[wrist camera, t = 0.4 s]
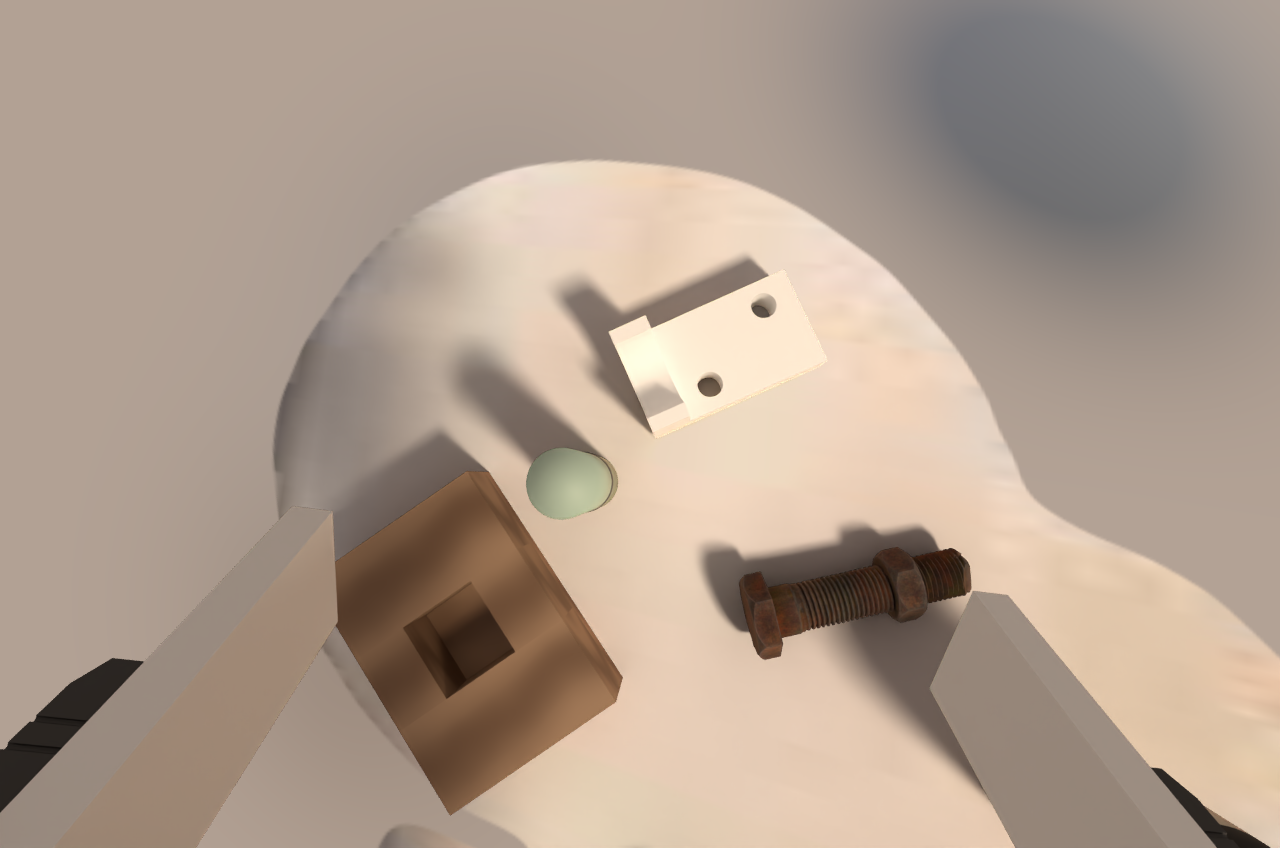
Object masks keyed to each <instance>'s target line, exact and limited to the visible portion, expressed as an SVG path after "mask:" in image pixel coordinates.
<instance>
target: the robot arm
mask: <svg viewBox="0 0 1280 848" xmlns="http://www.w3.org/2000/svg"><path fill="white" fill-rule="evenodd" d="M337 622H338V614H337V593H336V572H335V551H334V530H333V511H328V510H320V509H312V508H304V507H296V506H292V507H291V508H290V509H289V510H288V511H287V512H286V513H285V514H284V515H283V516H282V518H281V519H280V520H279V521H278V522H277V523H276V524H275V525H274V526H273V527H272V528H271V529H270V530H269V531H268V532H267V533H266V534H265V535H264V536H263V538H262V539H261V540H260V541H259V542H258V543H257V544H256V545H255V546H254V547H253V548H252V549H251V550H250V551H249V552H248V553H247V554H246V555H245V556H244V558H242V560H241V561H240V562H239V563H238V564H237V565H236V566H235V567H234V568H233V569H232V570H231V571H230V572H229V573H228V574H227V576H225V577H224V578H223V580H222V581H221V582H220V583H219V584H218V585H217V586H216V587H215V588H214V589H213V590H212V591H211V592H210V593H209V594H208V595H207V597H205V598H204V599H203V600H202V602H201V603H200V604H199V605H198V606H197V607H196V608H195V609H194V610H193V611H192V612H191V613H190V614H189V615H188V616H187V617H186V618H185V619H184V621H182V623H181V624H180V625H179V626H178V627H177V628H176V629H175V630H174V631H173V632H172V633H171V634H170V635H169V636H168V637H167V638H166V639H165V641H164V642H163V643H162V644H161V645H160V646H159V647H158V648H157V649H156V650H155V651H154V652H153V653H152V654H151V655H150V656H149V657H148V658H147V659H146V660H145V661H144V662H143V661H134V660H124V659H115V658H112V659H110V660H109V661H107V662H105V663H104V664H102V665H100V666H98V667H97V668H95V669H94V670H92V671H90V672H88V673H87V674H85V675H83V676H82V677H80V678H78V679H77V680H75V681H73V682H71V683H70V684H69V685H68V686H67V687H66V688H65V689H64V690H62V691H61V692H60V693H59V695H57V696H56V697H55V698H54V699H53V700H52V701H51V702H50V703H49V704H48V705H47V706H46V707H45V708H44V709H43V710H41V711H40V712H39V713H38V714H37V715H36V719H35V721H34V722H29V723H28V724H27V725H26V726H25V727H24V728H22V729H21V730H20V731H19V732H18V733H17V734H16V735H15V736H14V737H13V738H12V739H11V740H10V741H9V742H8V746H7V747H6V748H5V749H4V750H3V749H0V848H196V847H197V846H198V844H199V842H200V841H201V839H202V838H203V836H204V834H205V833H206V831H207V830H208V828H209V826H210V825H211V823H212V822H213V820H214V818H215V817H216V815H217V814H218V812H219V811H220V809H221V807H222V806H223V804H224V803H225V801H226V799H227V798H228V796H229V795H230V793H231V791H232V790H233V788H234V787H235V785H236V783H237V782H238V780H239V779H240V777H241V775H242V774H243V772H244V771H245V769H246V767H247V766H248V764H249V763H250V761H251V759H252V758H253V756H254V755H255V753H256V751H257V750H258V748H259V747H260V745H261V743H262V742H263V740H264V739H265V737H266V735H267V734H268V732H269V730H270V729H271V727H272V726H273V724H274V723H275V721H276V719H277V718H278V716H279V714H280V713H281V711H282V709H283V708H284V707H285V705H286V703H287V702H288V700H289V699H290V697H291V695H292V694H293V692H294V691H295V689H296V687H297V686H298V684H299V683H300V681H301V680H302V678H303V676H304V675H305V673H306V671H307V670H308V668H309V667H310V665H311V664H312V662H313V660H314V659H315V657H316V655H317V654H318V652H319V651H320V649H321V648H322V646H323V644H324V643H325V641H326V640H327V638H328V636H329V635H330V633H331V632H332V630H333V628H334V627H335V625H336V624H337ZM929 689H930V691H931V693H932V694H933V696H934V698H935V700H936V702H937V704H938V705H939V707H940V709H941V711H942V713H943V715H944V717H945V718H946V720H947V722H948V724H949V726H950V728H951V730H952V731H953V733H954V735H955V737H956V739H957V741H958V742H959V744H960V746H961V748H962V750H963V752H964V754H965V755H966V757H967V759H968V761H969V763H970V765H971V767H972V768H973V770H974V772H975V774H976V776H977V778H978V779H979V781H980V783H981V785H982V787H983V789H984V791H985V792H986V794H987V796H988V798H989V800H990V802H991V803H992V805H993V807H994V809H995V811H996V813H997V815H998V816H999V818H1000V820H1001V822H1002V824H1003V826H1004V828H1005V829H1006V831H1007V833H1008V835H1009V837H1010V839H1011V840H1012V842H1013V844H1014V846H1015V848H1240V847H1239V846H1238V845H1237V844H1236V843H1235V842H1234V840H1229V839H1228V837H1227V832H1226V831H1225V830H1224V829H1223V828H1222V827H1221V825H1220V824H1219V823H1218V822H1217V821H1216V820H1215V818H1214V817H1213V816H1212V815H1211V814H1210V813H1209V811H1208V810H1207V809H1206V808H1205V807H1204V806H1203V804H1202V803H1201V802H1200V801H1199V800H1198V799H1197V798H1196V797H1195V796H1194V795H1192V794H1191V793H1190V792H1189V791H1188V790H1186V789H1185V788H1184V787H1183V786H1182V785H1180V784H1179V783H1178V782H1177V781H1176V780H1174V779H1173V778H1172V777H1171V776H1169V775H1168V774H1167V773H1166V772H1165V771H1163V770H1162V769H1160V768H1151V767H1150V766H1149V765H1148V764H1147V763H1146V761H1145V760H1144V759H1143V758H1142V757H1141V755H1140V754H1139V753H1138V752H1137V751H1136V749H1135V748H1134V747H1133V746H1132V745H1131V743H1130V742H1129V741H1128V740H1127V738H1126V737H1125V736H1124V735H1123V734H1122V732H1121V731H1120V730H1119V729H1118V728H1117V726H1116V725H1115V724H1114V723H1113V722H1112V720H1111V719H1110V718H1109V717H1108V716H1107V714H1106V713H1105V712H1104V711H1103V710H1102V708H1101V707H1100V706H1099V705H1098V703H1097V702H1096V701H1095V700H1094V699H1093V697H1092V696H1091V695H1090V694H1089V693H1088V691H1087V690H1086V689H1085V688H1084V687H1083V685H1082V684H1081V683H1080V682H1079V681H1078V679H1077V678H1076V677H1075V676H1074V674H1073V673H1072V672H1071V671H1070V670H1069V668H1068V667H1067V666H1066V665H1065V664H1064V662H1063V661H1062V660H1061V659H1060V658H1059V656H1058V655H1057V654H1056V653H1055V652H1054V650H1053V649H1052V648H1051V647H1050V645H1049V644H1048V643H1047V642H1046V641H1045V639H1044V638H1043V637H1042V636H1041V635H1040V633H1039V632H1038V631H1037V630H1036V629H1035V627H1034V626H1033V625H1032V624H1031V623H1030V621H1029V620H1028V619H1027V618H1026V617H1025V615H1024V614H1023V613H1022V612H1021V610H1020V609H1019V608H1018V607H1017V606H1016V604H1015V603H1014V602H1013V601H1012V600H1011V598H1010V597H1009V596H1008V595H1002V594H994V593H986V592H978V591H973V592H972V594H971V597H970V599H969V601H968V603H967V606H966V608H965V610H964V612H963V614H962V617H961V619H960V621H959V623H958V626H957V628H956V630H955V632H954V635H953V637H952V639H951V641H950V643H949V646H948V648H947V650H946V652H945V655H944V657H943V659H942V661H941V663H940V666H939V668H938V670H937V672H936V675H935V677H934V679H933V681H932V683H931V686H930V688H929Z"/></svg>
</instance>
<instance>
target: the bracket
mask: <svg viewBox="0 0 1280 848" xmlns="http://www.w3.org/2000/svg"><path fill="white" fill-rule="evenodd" d="M754 306H762V307H764V308H766V309H767V310H768V312H769V315H770V317H767V318H760V317H758V316H756V315H755V314H754V313H753V311H752V309H751V308H752V307H754ZM609 334H610V336H611V339H612V341H613V343H614V345H615V348H616V350H617V352H618V354H619V356H620V359H621V361H622V363H623V365H624V367H625V370H626V372H627V374H628V376H629V379H630V381H631V383H632V385H633V388H634V390H635V392H636V395H637V397H638V399H639V401H640V404H641V406H642V408H643V411H644V413H645V415H646V418H647V420H648V423H649V425H650V427H651V429H652V432H653V434H654V435H655V437H656V439H657V438H659V437H662V436H664V435H666V434H668V433H671V432H673V431H675V430H677V429H680V428H682V427H684V426H686V425H689V424H691V423H693V422H696V421H698V420H700V419H702V418H705V417H707V416H709V415H711V414H714V413H716V412H718V411H720V410H723V409H725V408H727V407H730V406H732V405H734V404H736V403H739V402H741V401H743V400H745V399H748V398H750V397H752V396H754V395H757V394H759V393H761V392H763V391H766V390H768V389H770V388H773V387H775V386H777V385H779V384H782V383H784V382H786V381H788V380H791V379H793V378H795V377H797V376H800V375H802V374H804V373H806V372H809V371H811V370H813V369H816V368H818V367H820V366H821V365H822V364H824V363H825V362H826V361H827V358H826V356H825V354H824V352H823V350H822V347H821V345H820V343H819V341H818V339H817V337H816V335H815V333H814V331H813V329H812V327H811V324H810V322H809V320H808V318H807V316H806V314H805V312H804V310H803V308H802V306H801V304H800V301H799V299H798V297H797V295H796V293H795V291H794V289H793V287H792V285H791V283H790V281H789V278H788V276H787V274H786V272H785V270H784V269H783V270H781V271H779V272H777V273H774V274H772V275H770V276H768V277H765V278H763V279H761V280H759V281H756V282H754V283H752V284H750V285H748V286H745V287H743V288H741V289H739V290H736V291H734V292H732V293H730V294H727V295H725V296H723V297H721V298H718V299H716V300H714V301H712V302H709V303H707V304H705V305H703V306H700V307H698V308H696V309H694V310H691V311H689V312H687V313H685V314H682V315H680V316H678V317H676V318H674V319H671V320H669V321H667V322H665V323H662V324H660V325H658V326H656V327H653V328H651V327H650V324H649V322H648V320H647V318H646V315H645V316H642V317H640V318H638V319H636V320H634V321H631V322H629V323H627V324H625V325H622V326H620V327H618V328H616V329H613V330H611V331H609ZM704 378H713V379H715V380H716V381H717V382H718V383H719V385H720V388H721V391H720V393H719V394H718V395H716V396H714V397H707V396H704V395H703V394H701V393H700V391H699V389H698V386H697V385H698V383H699V382H700V381H701V380H702V379H704Z"/></svg>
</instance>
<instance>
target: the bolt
mask: <svg viewBox="0 0 1280 848" xmlns="http://www.w3.org/2000/svg"><path fill="white" fill-rule="evenodd" d="M739 586H740V593H741V598H742V603H743V607H744V613H745V617H746V620H747V624H748V628H749V631H750V634H751V638H752V641H753V645H754V647H755V649H756V652H757V654H758V655H759V656H760V657H761V658H762V659H764V660H766V659H771V658H775V657H780V656H781V652H782V646H783V642H782V638H783V637H788V636H792V635H797V634H801V633H802V632H805V631H806V630H810V629H811V628H812V629H813V630H814V629H815V628H816V627H817V628H820V626H822V627H825V625H827V626H830V623H831V624H832V625H835V622H836V623H837V624H840V622H842V623H844V622H845V620H846V621H847V622H849V621H850V619H851V620H854V619H855V618H856V619H857V620H858V619H859V618H862V619H863V618H864V616H865V617H868V616H869V615H870V616H873V615H874V614H875V615H878V614H879V613H881V614H883V613H884V612H886V613H888V614H889V615H890V616H891V617H892V618H893V619H895V620H897V621H898V622H900V623H902V622H906V621H911V620H915V619H917V618H919V617H920V616H922V615H923V614H924V613H925V611H926V609H927V603H928V602H929V603H932V602H936V601H937V600H938V601H941V600H942V599H944V600H946V599H947V598H949V599H951V598H952V597H953V598H954V597H957V596H962V595H963V596H965V595H966V593H967V592H970V590H971V574H970V566H969V564H968V562H967V560H966V559H965V558H964V557H962V556H961V553H959V552H958V551H956V550H955V549H953V548H949V549H944V550H943V551H941V550H940V551H939V552H938V551H936V552H934V553H930V554H925V555H923V554H922V555H920V556H916V557H911V556H910V555H909V554H908V553H906V552H905V551H903V550H901V549H900V548H898V547H895V548H890V549H886V550H882V551H880V552H879V553H878V554H877V555H876V556H875V558H874V559H873V564H872V567H871V566H869V567H868V568H866V567H864V568H863V569H861V568H860V569H858V570H856V569H855V570H854V571H849V572H844V573H840V574H835V575H830V577H829V576H826V577H825V578H824V577H821V578H820V579H819V578H816V579H815V580H814V579H812V580H811V581H810V580H807V581H806V582H804V581H802V582H801V583H799V582H798V583H796V584H795V583H793V584H782V585H778V586H773V587H769V588H767V585H766V583H765V581H764V578H763V576H762V574H761V572H755V573H751V574H747V575H744V576H743V578H742V579H741V580H740V582H739Z"/></svg>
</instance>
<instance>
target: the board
mask: <svg viewBox="0 0 1280 848" xmlns="http://www.w3.org/2000/svg"><path fill="white" fill-rule="evenodd" d="M335 572H336V593H337V614H338V622H337V624H336V627H337V629H338V630H339V632H340V634H341V635H342V637H343V638H344V640H345V642H346V643H347V645H348V647H349V648H350V650H351V652H352V653H353V655H354V657H355V658H356V660H357V662H358V663H359V665H360V667H361V668H362V670H363V672H364V673H365V675H366V677H367V678H368V680H369V682H370V683H371V685H372V687H373V688H374V690H375V692H376V693H377V695H378V697H379V698H380V700H381V702H382V703H383V705H384V707H385V708H386V710H387V711H388V713H389V715H390V716H391V718H392V720H393V721H394V723H395V725H396V726H397V728H398V730H399V731H400V733H401V735H402V736H403V738H404V740H405V741H406V743H407V745H408V746H409V748H410V750H411V751H412V753H413V755H414V756H415V758H416V760H417V761H418V763H419V765H420V766H421V768H422V770H423V771H424V773H425V775H426V776H427V778H428V780H429V781H430V783H431V785H432V786H433V788H434V789H435V791H436V793H437V794H438V796H439V798H440V799H441V801H442V803H443V804H444V806H445V808H446V809H447V811H448V813H449V814H450V815H452V814H453V813H454V812H456V811H458V810H459V809H461V808H462V807H463V806H465V805H466V804H468V803H469V802H471V801H472V800H474V799H475V798H477V797H478V796H480V795H481V794H482V793H484V792H485V791H487V790H488V789H490V788H491V787H493V786H494V785H496V784H497V783H498V782H500V781H501V780H503V779H504V778H506V777H507V776H509V775H510V774H512V773H513V772H514V771H516V770H517V769H519V768H520V767H522V766H523V765H525V764H526V763H528V762H529V761H530V760H532V759H533V758H535V757H536V756H538V755H539V754H541V753H542V752H544V751H545V750H547V749H548V748H549V747H551V746H552V745H554V744H555V743H557V742H558V741H560V740H561V739H563V738H564V737H565V736H567V735H568V734H570V733H571V732H573V731H574V730H576V729H577V728H579V727H580V726H581V725H583V724H584V723H586V722H587V721H589V720H590V719H592V718H593V717H595V716H596V715H597V714H599V713H600V712H602V711H603V710H605V709H606V708H608V707H609V706H611V705H612V704H613V703H615V702H616V700H617V696H618V693H619V689H620V685H621V682H622V678H623V677H622V676H621V674H620V673H619V671H618V670H617V668H616V666H615V665H614V663H613V662H612V660H611V659H610V657H609V656H608V654H607V653H606V651H605V650H604V648H603V647H602V645H601V643H600V642H599V640H598V639H597V637H596V636H595V634H594V633H593V631H592V630H591V628H590V627H589V625H588V623H587V622H586V620H585V619H584V617H583V616H582V614H581V613H580V611H579V610H578V608H577V607H576V605H575V604H574V602H573V600H572V599H571V597H570V596H569V594H568V593H567V591H566V590H565V588H564V587H563V585H562V584H561V582H560V580H559V579H558V577H557V576H556V574H555V573H554V571H553V570H552V568H551V567H550V565H549V564H548V562H547V561H546V559H545V557H544V556H543V554H542V553H541V551H540V550H539V548H538V547H537V545H536V544H535V542H534V541H533V539H532V538H531V536H530V534H529V533H528V531H527V530H526V528H525V527H524V525H523V524H522V522H521V521H520V519H519V518H518V516H517V514H516V513H515V511H514V510H513V508H512V507H511V505H510V504H509V502H508V501H507V499H506V498H505V496H504V495H503V493H502V491H501V490H500V488H499V487H498V485H497V484H496V482H495V481H494V479H493V478H492V476H491V475H490V473H489V472H473V471H466V472H465V473H464V474H462V475H461V476H459V477H458V478H456V479H455V480H453V481H452V482H450V483H449V484H448V485H446V486H445V487H443V488H442V489H440V490H439V491H437V492H436V493H434V494H433V495H432V496H430V497H429V498H427V499H426V500H424V501H423V502H421V503H420V504H419V505H417V506H416V507H414V508H413V509H411V510H410V511H408V512H407V513H405V514H404V515H403V516H401V517H400V518H398V519H397V520H395V521H394V522H392V523H391V524H389V525H388V526H387V527H385V528H384V529H382V530H381V531H379V532H378V533H376V534H375V535H373V536H372V537H371V538H369V539H368V540H366V541H365V542H363V543H362V544H360V545H359V546H358V547H356V548H355V549H353V550H352V551H350V552H349V553H347V554H346V555H344V556H343V557H342V558H340V559H339V560H337V561H336V562H335Z"/></svg>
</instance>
